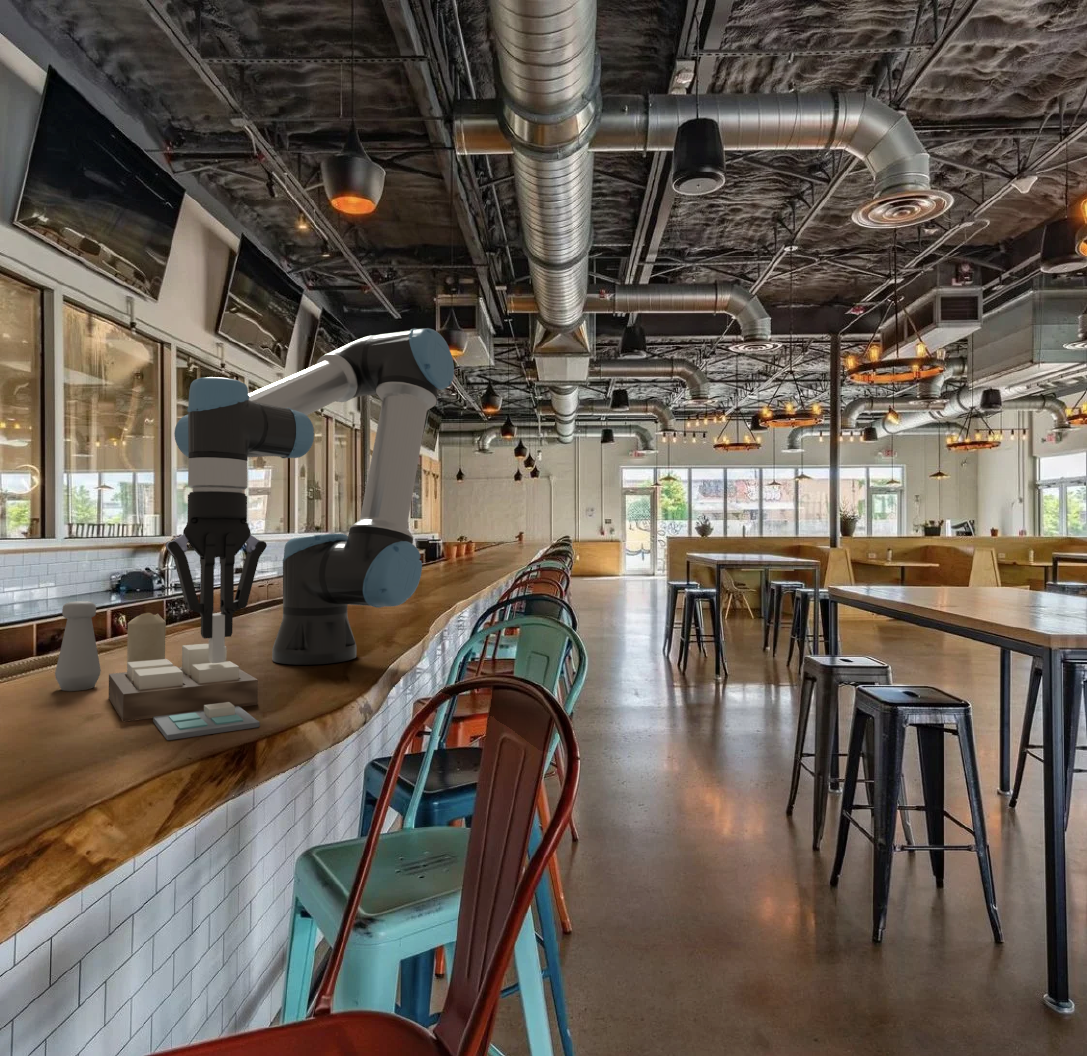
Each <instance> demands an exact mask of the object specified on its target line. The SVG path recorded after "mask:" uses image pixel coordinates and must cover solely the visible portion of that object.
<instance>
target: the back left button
mask: <svg viewBox="0 0 1087 1056" xmlns="http://www.w3.org/2000/svg"><path fill="white" fill-rule="evenodd" d="M227 650H228V646H226V645H225V662H227V661H228V660H227V659H228V657H227V655H228V654H227V652H228V651H227ZM208 658H209V643H199V644H186V645H185V644H184V645H181V667H182V671H183V672H184V673H185V674H187V675H192V665H194V664H205V663H212V662H210V661H209V660H208Z"/></svg>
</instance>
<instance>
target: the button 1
mask: <svg viewBox="0 0 1087 1056" xmlns="http://www.w3.org/2000/svg"><path fill="white" fill-rule="evenodd" d="M172 666H174V663H172V662H171V661H170V660H169V659H167V658H165V659H160V660H148V661H137V662H127V661H126V672H127V678H128V679H129V681H134V670H138V669H149V668H160V667H172Z"/></svg>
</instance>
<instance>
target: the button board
mask: <svg viewBox="0 0 1087 1056" xmlns="http://www.w3.org/2000/svg"><path fill="white" fill-rule="evenodd" d="M177 667H178V666H177ZM178 668H179V669H180V670H181V671H182V666H180V667H178ZM258 688H259V679H257V678H256V677H254V676H252V675H251V674H249V673H247V672H245V671H244V670H242V669H241V668H239V679H237V680H228V681H218V682H209V683H199V684H197V683H196V682H194V681H193V680H192V675H187V674H185V673H184V672H183V685H180V686H171V687H162V688H152V689H143V690H137V689H136V688H135V687H134V681H129V679H128V678H127V671H124V672H115V673H114V672H113V673H108V700H109V701H110V703H111V705H112V706H113V708H114V709H115V711H116V712H117V714H118V716H119V717H120V719H121V720H122V721H121V722H123V723H124V722H132V721H139V720H147V719H153V717H155V716H163V715H171V714H178V713H186V712H194V711H202V710H204V705H208V704H217V703H225V702H230V703H231V704H232V705H234V706H239V707H240V708H242V707H249V706H257V705H259V703H258V700H259V698H258V695H259V694H258V693H259V689H258Z"/></svg>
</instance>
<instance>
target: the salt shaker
mask: <svg viewBox="0 0 1087 1056" xmlns="http://www.w3.org/2000/svg"><path fill="white" fill-rule="evenodd" d="M61 609H62V610H61V612H62V613H61V614H62V617H63V618H65V619H66V624H65V628H64V633H63V637H62V640H61V641H62V642H61V645H60V650H59V655H58V659H57V664H56V668H55V672H54V676H55V680H56V682H57V684H58V685H59V686H58V687H60V690H61V691H66V692H77V691H86V690H90V689H92V688H93V689H94V688H95V686H96V684H97V682H98V679H99V678H100V675H101V672H102V670H101V665H100V664H101V663H100V658H99V654H98V653H99V652H98V648H97V643H96V637H95V632H94V631H95V630H94V626H93V619H92V618H93V617H95V616H96V614H97V605H96V604H95V603H94V602H93V601H87V600H79V601H78V600H77V601H68V602H65V604H63V606H62V608H61Z"/></svg>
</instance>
